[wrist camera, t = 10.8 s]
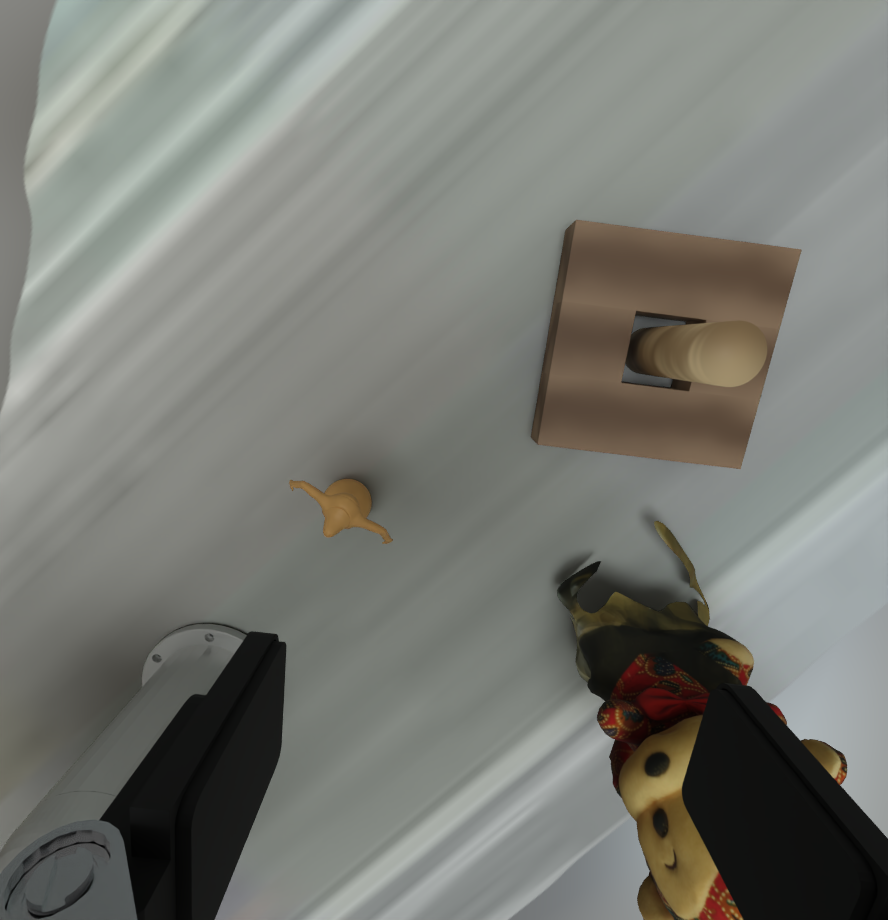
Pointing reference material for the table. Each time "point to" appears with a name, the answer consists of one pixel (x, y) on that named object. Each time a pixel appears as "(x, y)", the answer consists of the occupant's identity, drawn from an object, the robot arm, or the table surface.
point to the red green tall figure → (664, 729)
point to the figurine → (344, 506)
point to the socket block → (609, 331)
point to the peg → (699, 352)
